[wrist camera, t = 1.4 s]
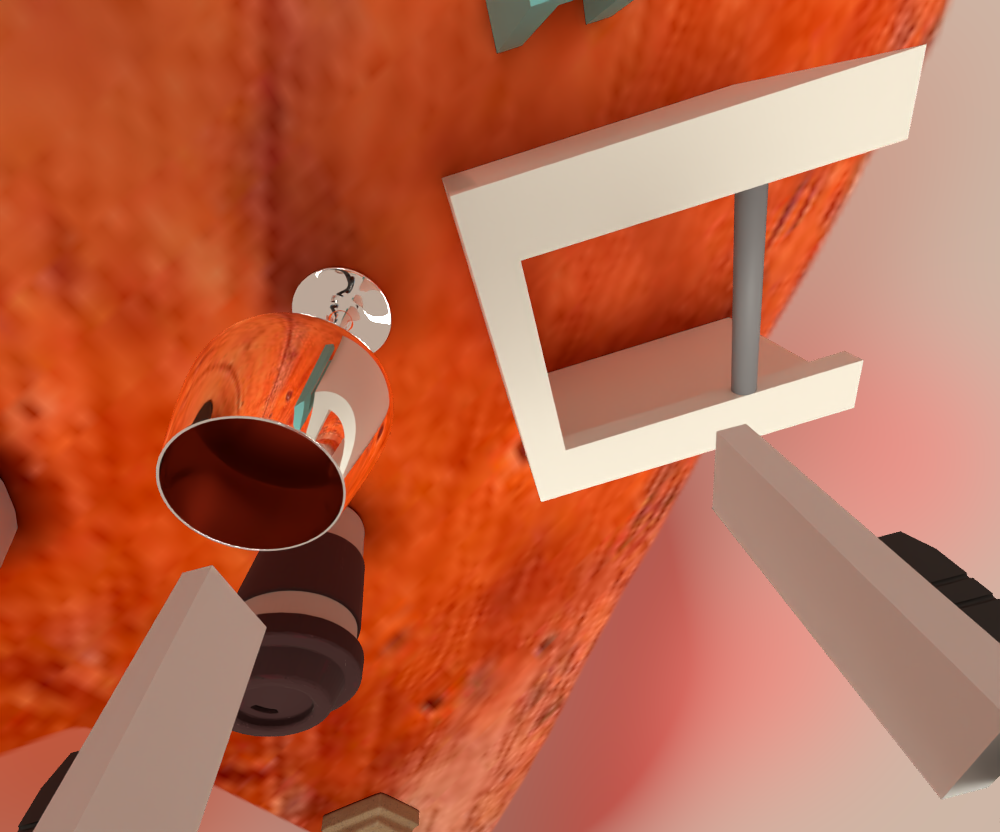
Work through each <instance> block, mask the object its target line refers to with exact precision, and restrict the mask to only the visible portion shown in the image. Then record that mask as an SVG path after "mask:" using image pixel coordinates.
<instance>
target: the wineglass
mask: <svg viewBox="0 0 1000 832" xmlns="http://www.w3.org/2000/svg"><path fill="white" fill-rule="evenodd" d="M391 323H392V316H391V309H390V306H389V303H388V300H387V298H386V296H385V295H384V293H383V292H382V290H381V289H380V288H379V287H378V285H377V284H376V283H375V282H373V281H372V280H371V279H370V278H368V277H367V276H365V275H363V274H362V273H360V272H357V271H355V270H352V269H348V268H343V267H329V268H323V269H320V270H317V271H315V272H313V273H311V274H310V275H308V276H307V277H306V278H305V279H304V280H303V281H302V282H301V283H300V284H299V286H298V287H297V289H296V291H295V294H294V297H293V301H292V313H291V312H279V313H268V314H262V315H258V316H254V317H250V318H247V319H245V320H242V321H240V322H238V323H235V324H233V325H232V326H230V327H228V328H227V329H225V330H223V331H222V332H221V333H219V334H218V335H217V336H216V337H214V338H213V339H212V340H211V341H210V342H209V343H208V344H207V345H206V346H205V348H204V349H203V350H202V351H201V352H200V354H199V355H198V357H197V358H196V360H195V361H194V363H193V365H192V366H191V368H190V370H189V372H188V374H187V376H186V379H185V381H184V383H183V386H182V388H181V391H180V393H179V396H178V399H177V402H176V404H175V407H174V410H173V413H172V416H171V419H170V423H169V426H168V429H167V432H166V435H165V439H164V442H163V445H162V448H161V452H160V455H159V458H158V462H157V467H156V480H157V485H158V489H159V491H160V494H161V496H162V498H163V500H164V502H165V503H166V505H167V506H168V508H169V509H170V510H171V511H172V513H173V514H174V515H175V516H176V517H177V518H178V519H179V520H180V521H182V522H183V523H184V524H185V525H187V526H188V527H189V528H191V529H192V530H194V531H195V532H197V533H199V534H200V535H202V536H204V537H206V538H208V539H211V540H213V541H215V542H218V543H221V544H224V545H227V546H231V547H235V548H240V549H246V550H255V551H276V550H284V549H290V548H294V547H298V546H301V545H304V544H306V543H309V542H311V541H313V540H315V539H317V538H319V537H320V536H322V535H323V534H324V533H326V532H327V531H328V530H329V529H330V528H331V527H332V526H333V525H334V524H335V523H336V521H337V520H338V519H339V517H340V516H341V514H342V513H343V512H344V510H345V509H346V507H347V506H348V504H349V503H350V502H351V500H352V499H353V497H354V496H355V494H356V493H357V491H358V490H359V489H360V487H361V486H362V484H363V483H364V481H365V480H366V478H367V477H368V475H369V473H370V472H371V470H372V469H373V467H374V465H375V464H376V462H377V460H378V459H379V457H380V455H381V453H382V451H383V449H384V447H385V445H386V443H387V440H388V437H389V435H390V431H391V427H392V423H393V415H394V402H393V394H392V389H391V385H390V382H389V379H388V377H387V374H386V372H385V370H384V368H383V366H382V365H381V363H380V362H379V360H378V359H377V357H376V356H375V354H374V352H376V351H377V350H378V349H379V348H380V347H381V346H382V345H383V344H384V342H385V341H386V339H387V337H388V335H389V332H390V329H391Z"/></svg>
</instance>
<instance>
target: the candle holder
mask: <svg viewBox="0 0 1000 832" xmlns="http://www.w3.org/2000/svg"><path fill="white" fill-rule="evenodd" d="M418 825H419V811H418V810H416V809H415V808H413V807H411V806H409V805H407V804H405V803H403V802H401V801H399V800H397V799H395V798H392V797H390V796H388V795H386V794H383V793H378V794H375V795H373V796H370V797H367V798H365V799H363V800H360V801H358V802H355V803H353V804H350V805H348V806H345V807H343V808H340V809H338V810H336V811H333V812H331V813H329V814H326V815H324V816H323V823H322V830H321V831H322V832H412V831H413V829H414V828H415V827H417V826H418Z"/></svg>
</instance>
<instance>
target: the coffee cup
mask: <svg viewBox="0 0 1000 832" xmlns="http://www.w3.org/2000/svg"><path fill="white" fill-rule="evenodd" d="M364 535H365V532H364V526H363V523H362V521H361V519H360V517H359V516H358V515H357V514H356V513H355V512H354V511H353V510H352V509H350V508H349V507H346V509H345V510H344V512H343V513H342V514H341V516H340V517H339V519H338V520H337V521H336V523H335V524H334V525H333V526H332V527H331V528H330V529H329V530H328V531H327V532H326V533H324V534H323V535H322V536H320V537H319V538H317V539H315V540H313V541H311V542H309V543H306V544H304V545H301V546H298V547H294V548H290V549H284V550H276V551H259V553H258V555H257V556H256V558H255V560H254V562H253V564H252V566H251V568H250V570H249V572H248V574H247V575H246V577H245V579H244V581H243V583H242V585H241V587H240V589H239V591H238V593H237V594H238V595H239V596H240V597H241V599H242V600H243V601H244V602H245V603H246V604H247V605H248V607H249V608H250V609H251V610H252V611H253V612H254V613H255V615H256V616H257V617H258V618H259V619H260V620H261V621H262V623H263V624H264V625H265V626H266V627H267V628H266V631H265V634H264V637H263V640H262V642H261V645H260V648H259V651H258V654H257V657H256V660H255V663H254V666H253V669H252V672H251V675H250V678H249V681H248V684H247V687H246V690H245V693H244V696H243V699H242V702H241V704H240V707H239V710H238V713H237V716H236V719H235V722H234V725H233V728H232V731H235V732H239V733H242V734H247V735H253V736H285V735H290V734H295V733H299V732H302V731H305V730H308V729H310V728H312V727H314V726H316V725H317V724H319V723H320V722H322V721H323V720H324V719H325V718H326V717H327V716H328V715H329V713H330V712H331V711H333V710H335V709H337V708H339V707H341V706H342V705H343V704H345V703H346V702H347V701H349V700H350V699H351V698H352V697H353V696H354V694H355V693H356V691H357V690H358V688H359V686H360V683H361V680H362V672H363V664H364V653H363V650H362V647H361V645H360V643H359V641H358V640H357V639H358V637H359V634H360V630H361V618H362V603H363V587H364V572H365V565H364V560H363V548H364Z"/></svg>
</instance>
